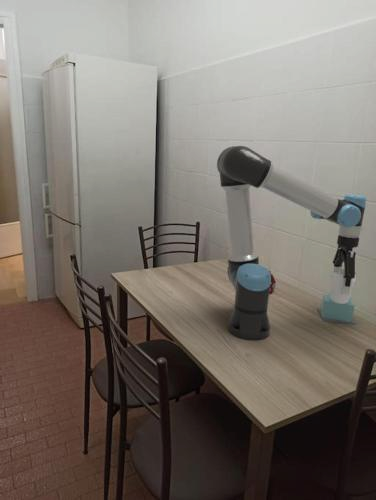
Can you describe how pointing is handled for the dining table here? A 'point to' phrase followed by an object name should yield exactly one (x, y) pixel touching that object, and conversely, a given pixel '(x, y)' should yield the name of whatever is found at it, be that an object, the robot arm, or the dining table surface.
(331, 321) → the base mat
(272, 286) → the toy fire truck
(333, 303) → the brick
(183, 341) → the dining table surface
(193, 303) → the dining table surface
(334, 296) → the cup
